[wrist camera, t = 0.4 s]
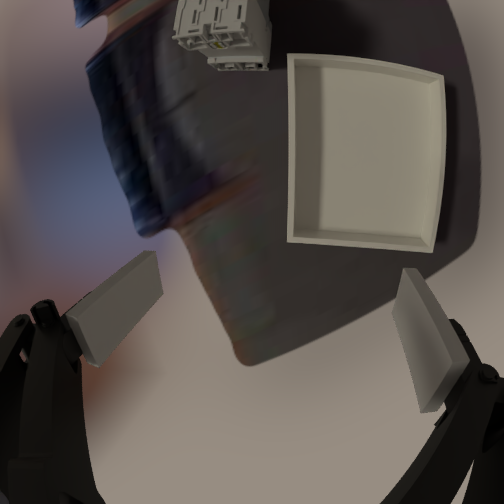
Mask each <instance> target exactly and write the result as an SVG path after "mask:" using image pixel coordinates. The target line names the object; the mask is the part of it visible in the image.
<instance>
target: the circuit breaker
mask: <svg viewBox="0 0 504 504" xmlns="http://www.w3.org/2000/svg"><path fill="white" fill-rule="evenodd" d="M269 1H270V0H179V2H178V7H177V13H176V18H175V24H174V31H176V36H172V38H173V39H178V40H179V45H181V46H182V47H184V48H185V49H187V50H188V51H191V50H199V51H200V52H201V53H203V54H204V55H206V56H207V57H208V64H210V65H211V66H212V67H214V68H215V69H216V68H218V71H233V70H255V71H269V68H267V63H269V60H270V48H271V35H272V24H271V21H269V16H268V13H269ZM187 40H188V43H187ZM258 63H259V64H262V65H263V66H262V68H258ZM244 66H245V67H244ZM230 67H234V68H230ZM249 67H254V68H249Z"/></svg>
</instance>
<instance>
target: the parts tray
mask: <svg viewBox="0 0 504 504" xmlns="http://www.w3.org/2000/svg"><path fill="white" fill-rule="evenodd" d="M287 63H288V106H289V179H288V225H287V242H294V243H308V244H323V245H337V246H351V247H364V248H378V249H390V250H403V251H415V252H427V253H433V248H434V243H435V238H436V233H437V227H438V221H439V215H440V208H441V201H442V193H443V184H444V172H445V157H446V102H445V87H444V76H443V75H440V74H436V73H433V72H429V71H425V70H422V69H418V68H413V67H409V66H405V65H400V64H395V63H390V62H385V61H379V60H372V59H365V58H358V57H349V56H339V55H325V54H295V53H289V54H287Z"/></svg>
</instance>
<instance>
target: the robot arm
mask: <svg viewBox="0 0 504 504" xmlns="http://www.w3.org/2000/svg"><path fill="white" fill-rule="evenodd" d="M162 295H163V290H162V284H161V279H160V274H159V269H158V262H157V257H156V251H143V252H142V253H141V254H139V255H138V256H137V257H135V258H134V259H133V260H131V261H130V262H129V263H127V264H126V265H125V266H124V267H122V268H121V269H120V270H118V271H117V272H116V273H115V274H113V275H112V276H111V277H109V278H108V279H107V280H106V281H104V282H103V283H102V284H101V285H99V286H98V287H97V288H96V289H94V290H93V291H91V292H89V293H88V294H87V295H86V296H84V297H83V299H81V300H80V301H79V302H78V303H76V304H75V305H74V306H72V307H71V308H70V309H69V310H68V311H67V312H65V313H64V314H63V315H62V316H61V317H60V316H59V313H58V311H57V308H56V306H55V303H54V301H53V300H49V299H47V300H42V301H39V302H38V303H36V304H35V305H34V306H32V308H31V309H30V311H31V313H32V316H33V318H34V320H35V322H36V324H33V323H32V321H31V319H30V317H29V316H28V315H27V314H22V315H21V314H20V315H18V316H16V317H15V318H14V319H13V320H12V321H11V322H10V323H9V325H8V326H7V328H6V329H5V331H4V333H3V334H2V336H1V337H0V504H106V503H105V502H104V500H103V498H102V497H101V496H100V494H99V493H98V491H97V489H96V485H95V481H94V476H93V472H92V467H91V462H90V457H89V450H88V444H87V437H86V429H85V420H84V410H83V397H82V396H83V395H82V369H81V368H82V366H81V365H82V364H81V361H80V359H79V357H80V356H81V355H82V354H83V355H84V357H85V359H86V361H87V362H88V363H89V364H91V365H93V366H96V367H98V368H100V366H101V365H102V364H103V363H104V362H105V360H106V359H107V358H108V357H109V356H110V354H111V353H112V352H113V351H114V350H115V348H116V347H117V346H118V345H119V344H120V343H121V341H122V340H123V339H124V338H125V337H126V336H127V334H128V333H129V332H130V331H131V330H132V329H133V328H134V326H135V325H136V324H137V323H138V322H139V321H140V319H141V318H142V317H143V316H144V315H145V314H146V312H147V311H148V310H149V309H150V308H151V307H152V306H153V305H154V304H155V302H156V301H157V300H158V299H159V298H160V297H161V296H162ZM392 315H393V318H394V321H395V324H396V327H397V330H398V333H399V336H400V339H401V342H402V345H403V348H404V352H405V355H406V358H407V362H408V365H409V369H410V372H411V376H412V380H413V383H414V387H415V391H416V395H417V399H418V404H419V408H420V413H428V412H435V411H437V410H438V409H439V408H440V406H441V405H442V404H443V402H444V403H445V406H446V410H445V412H444V413H443V414H442V416H441V417H440V418H439V419H438V421H437V422H436V423H435V424H434V425H435V426H436V427H435V429H434V430H433V432H432V434H431V435H430V437H429V439H428V440H427V442H426V444H425V445H424V447H423V448H422V450H421V452H420V453H419V454H418V456H417V457H416V459H415V460H414V462H413V463H412V464H411V466H410V467H409V469H408V470H407V471H406V473H405V474H404V475H403V477H402V478H401V480H399V482H398V483H397V484H396V486H395V487H394V488H393V489H392V490H391V492H390V493H389V494H388V495H387V496H386V497H385V499H384V500H383V501H382V502H381V503H380V504H451V502H452V500H453V499H454V497H455V495H456V494H457V492H458V490H459V488H460V487H461V485H462V483H463V481H464V479H465V477H466V475H467V473H468V471H469V469H470V467H471V465H472V463H473V460H474V463H473V467H472V472H471V475H470V480H469V483H468V486H467V490H466V493H465V496H464V499H463V502H462V504H504V378H501V377H500V376H499V374H498V372H497V371H496V370H495V368H493V367H492V366H490V365H488V364H482V362H481V361H480V359H479V357H478V355H477V353H476V351H475V349H474V347H473V345H472V343H471V342H470V340H469V338H468V336H466V333H465V331H464V329H463V328H462V326H461V325H460V324H459V323H458V322H457V321H455V320H454V319H448V318H447V316H446V314H445V313H444V311H443V309H442V308H441V306H440V304H439V303H438V301H437V299H436V298H435V296H434V294H433V293H432V291H431V290H430V288H429V287H428V285H427V284H426V282H425V280H424V279H423V277H422V276H421V274H420V273H419V272H418V270H417V269H416V268H403V272H402V276H401V280H400V284H399V288H398V292H397V296H396V300H395V304H394V307H393V311H392ZM21 350H22V352H23V354H24V356H25V357H26V361H25V362H23V360H22V359H21V357H20V355H19V354H20V352H21Z"/></svg>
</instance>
